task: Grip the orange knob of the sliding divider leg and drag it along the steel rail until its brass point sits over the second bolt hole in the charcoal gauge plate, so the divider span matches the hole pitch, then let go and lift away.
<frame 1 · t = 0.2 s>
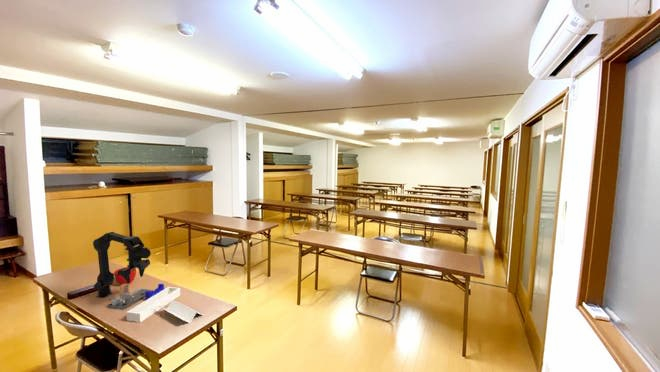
hand: (135, 279, 175), 14 cm above the table, tool pointing down, fingers open, 9 cm apart
gauge plate: (131, 299, 177), on the table
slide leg: (127, 291, 174), point 6 cm above the table, slide at -7.0 cm
z bracket: (181, 314, 161), on the table
ceramic cup: (124, 283, 200), on the table
cable clip: (154, 296, 182), on the table
block frame: (155, 306, 169), on the table
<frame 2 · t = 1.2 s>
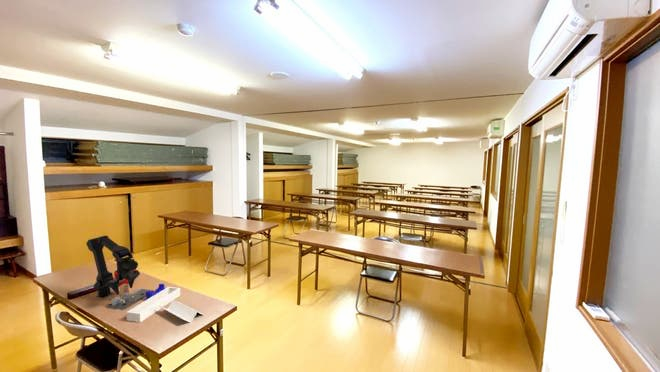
hand: (124, 291, 175), 7 cm above the table, tool pointing down, fingers open, 9 cm apart
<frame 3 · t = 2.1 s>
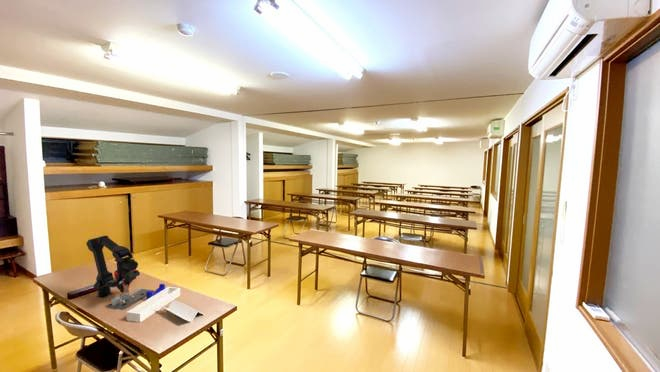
hand: (124, 291, 175), 7 cm above the table, tool pointing down, fingers closed on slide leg, 3 cm apart
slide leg: (127, 291, 174), point 6 cm above the table, slide at -7.0 cm, touching gripper
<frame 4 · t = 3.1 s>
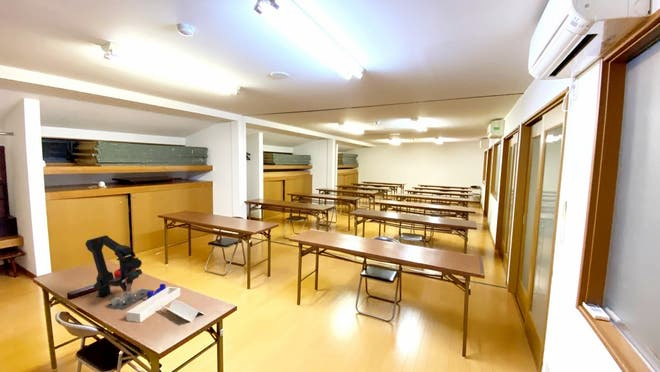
hand: (127, 289, 176), 7 cm above the table, tool pointing down, fingers closed on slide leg, 3 cm apart
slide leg: (129, 290, 176), point 6 cm above the table, slide at -5.2 cm, touching gripper
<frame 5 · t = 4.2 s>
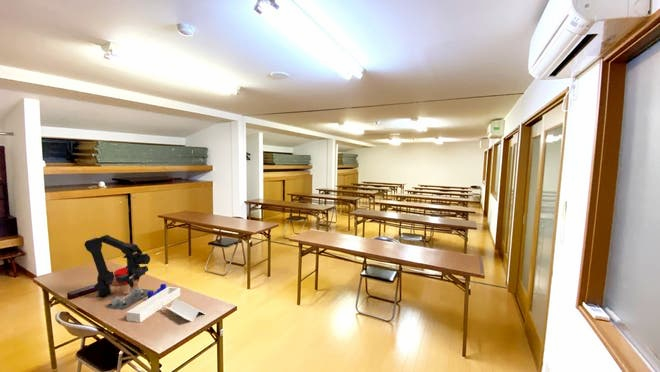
hand: (134, 286, 181), 7 cm above the table, tool pointing down, fingers closed on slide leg, 3 cm apart
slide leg: (136, 286, 181), point 6 cm above the table, slide at -0.1 cm, touching gripper
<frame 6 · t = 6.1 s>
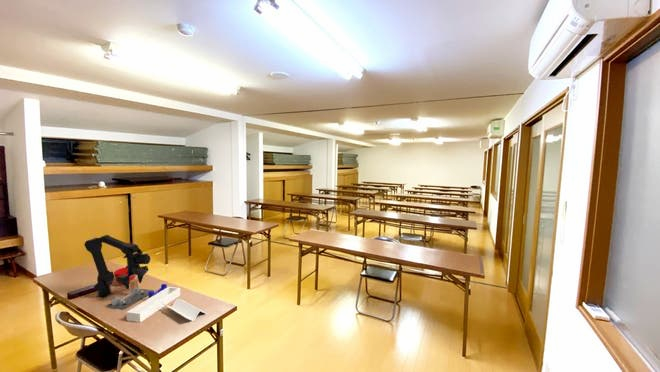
hand: (134, 286, 181), 7 cm above the table, tool pointing down, fingers open, 9 cm apart
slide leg: (136, 286, 181), point 6 cm above the table, slide at 0.0 cm
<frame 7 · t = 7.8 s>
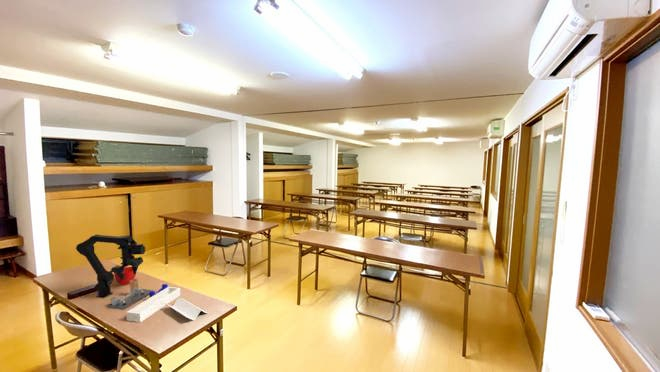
hand: (128, 277, 183), 12 cm above the table, tool pointing down, fingers open, 9 cm apart
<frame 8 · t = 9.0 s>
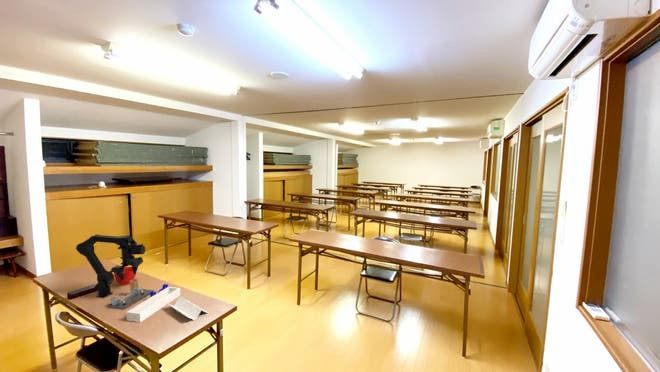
hand: (128, 277, 183), 12 cm above the table, tool pointing down, fingers open, 9 cm apart
at the end: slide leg slide at 0.0 cm; the gripper is holding nothing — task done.
